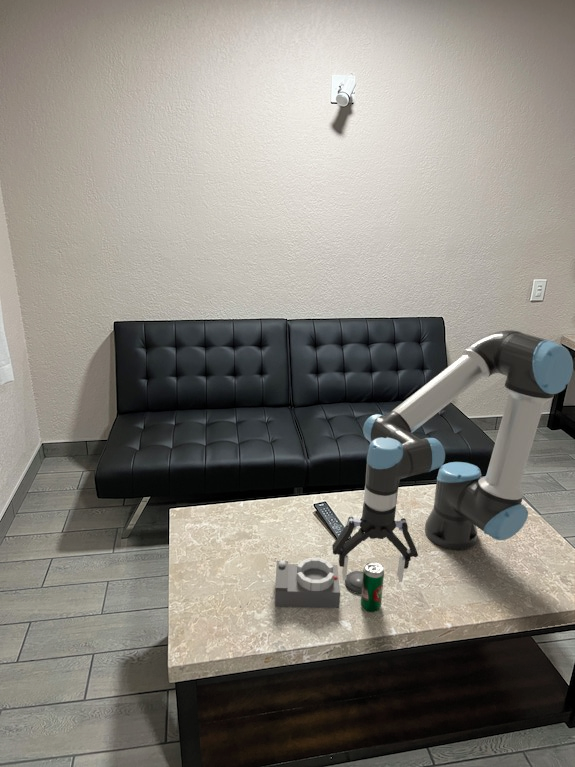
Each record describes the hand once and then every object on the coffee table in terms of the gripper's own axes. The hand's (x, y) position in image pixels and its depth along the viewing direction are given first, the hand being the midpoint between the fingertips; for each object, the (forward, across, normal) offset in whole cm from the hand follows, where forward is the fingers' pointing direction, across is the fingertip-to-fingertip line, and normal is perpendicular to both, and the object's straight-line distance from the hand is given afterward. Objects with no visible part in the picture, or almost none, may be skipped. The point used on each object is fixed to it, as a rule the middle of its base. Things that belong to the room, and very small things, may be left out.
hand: (371, 577), depth 131 cm
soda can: (+9, 0, 0) cm, 9 cm away
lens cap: (+9, +2, -8) cm, 12 cm away
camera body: (+9, +16, -4) cm, 19 cm away
